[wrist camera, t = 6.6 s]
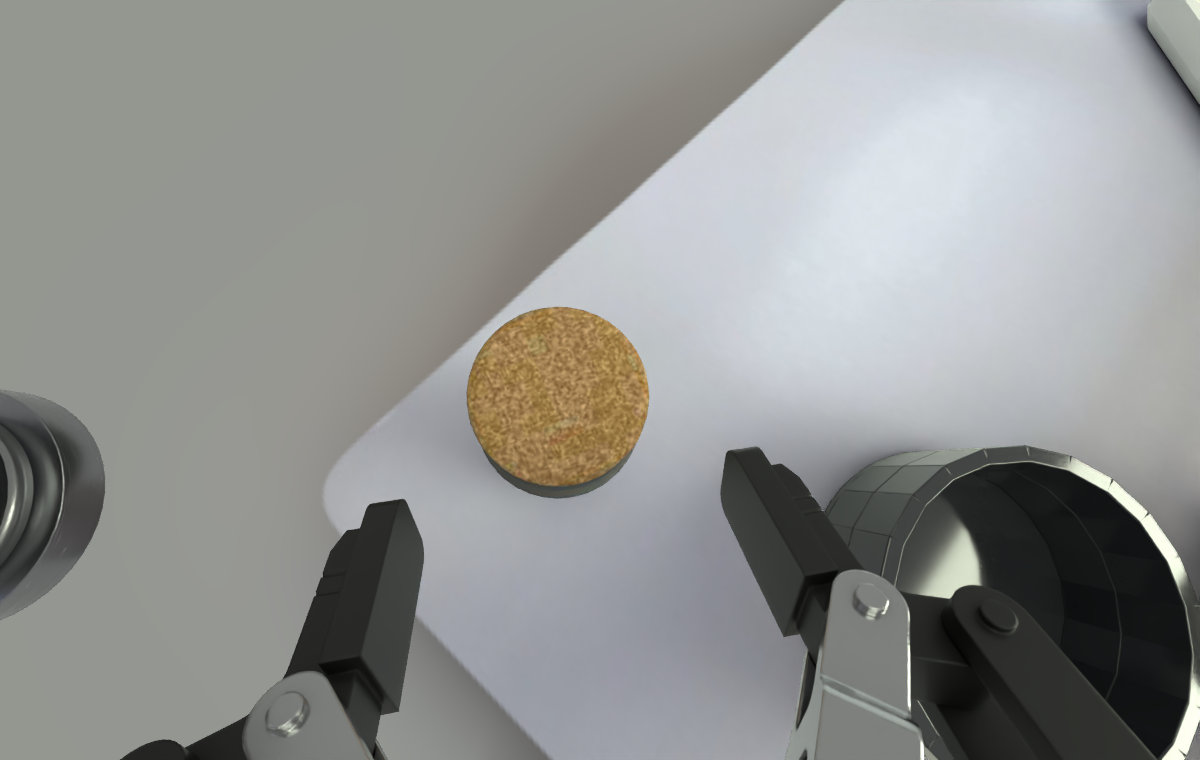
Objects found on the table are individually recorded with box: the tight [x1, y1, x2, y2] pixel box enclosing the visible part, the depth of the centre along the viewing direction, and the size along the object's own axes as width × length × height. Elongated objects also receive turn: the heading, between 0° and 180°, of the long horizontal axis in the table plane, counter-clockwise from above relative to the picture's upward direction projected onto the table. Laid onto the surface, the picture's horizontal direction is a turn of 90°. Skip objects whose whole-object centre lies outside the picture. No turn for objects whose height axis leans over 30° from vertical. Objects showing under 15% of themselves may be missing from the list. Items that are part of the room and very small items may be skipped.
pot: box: [825, 445, 1200, 760], centre depth 24 cm, size 16×16×6 cm
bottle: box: [467, 307, 649, 498], centre depth 19 cm, size 6×6×15 cm
